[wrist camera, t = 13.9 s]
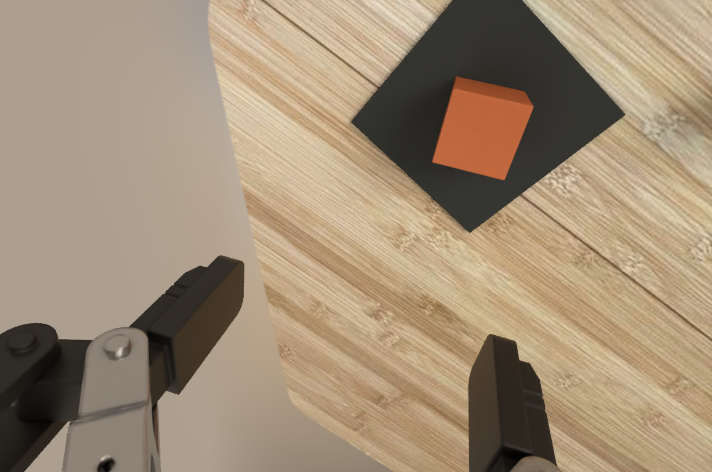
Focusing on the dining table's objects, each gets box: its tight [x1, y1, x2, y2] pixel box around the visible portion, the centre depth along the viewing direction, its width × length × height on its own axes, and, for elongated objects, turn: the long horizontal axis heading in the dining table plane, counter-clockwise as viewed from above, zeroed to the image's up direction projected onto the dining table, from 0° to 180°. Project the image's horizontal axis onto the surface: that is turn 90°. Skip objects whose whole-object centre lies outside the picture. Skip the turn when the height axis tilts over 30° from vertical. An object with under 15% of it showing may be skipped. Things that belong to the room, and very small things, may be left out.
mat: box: [351, 0, 625, 233], centre depth 30 cm, size 14×14×1 cm
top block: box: [432, 76, 534, 180], centre depth 28 cm, size 5×5×5 cm
